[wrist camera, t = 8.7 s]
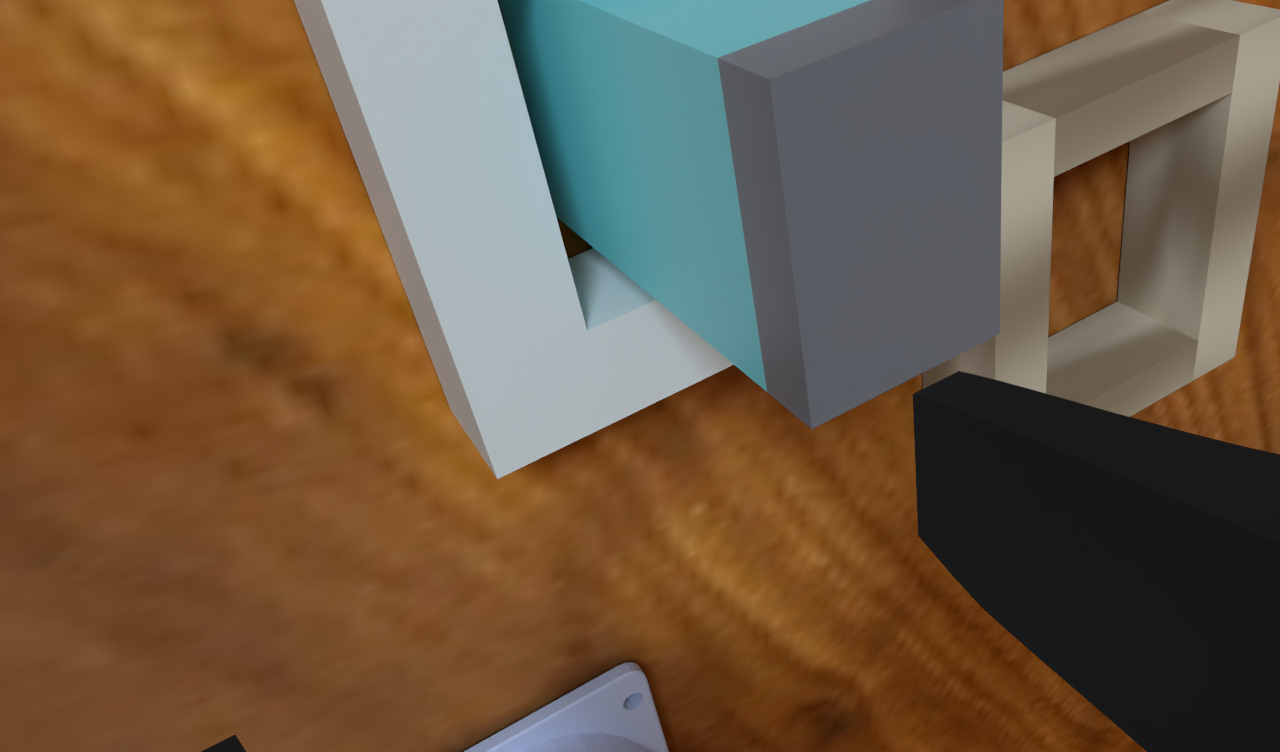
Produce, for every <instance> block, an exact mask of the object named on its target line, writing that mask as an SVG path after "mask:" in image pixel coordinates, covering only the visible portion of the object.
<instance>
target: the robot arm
mask: <svg viewBox="0 0 1280 752" xmlns="http://www.w3.org/2000/svg"><path fill="white" fill-rule="evenodd" d="M913 410H914V435H915V461H916V486H917V511H918V536H919V537H920V538H921V539H922V540H923V542H924V543H925V544H926V545H927V546H928V547H929V549H930V550H931V551H932V552H933V553H934V554H935V556H936V557H937V558H938V559H939V560H940V561H941V563H942V564H943V565H944V566H945V567H946V568H947V570H948V571H949V572H950V573H951V574H952V575H953V577H954V578H955V579H956V580H957V581H958V582H959V583H960V584H961V585H962V586H963V587H964V588H965V590H966V591H967V592H968V593H969V594H970V595H971V596H972V597H973V598H974V599H975V600H976V602H977V603H978V604H979V605H980V606H981V607H982V608H983V609H984V610H985V611H987V612H988V613H989V614H990V615H991V616H992V617H993V618H994V619H995V620H996V621H998V622H999V623H1000V624H1001V625H1002V626H1003V627H1004V628H1005V629H1007V630H1008V631H1009V632H1010V633H1011V634H1012V635H1013V636H1015V637H1016V638H1017V639H1018V640H1019V641H1020V642H1021V643H1023V644H1024V645H1025V646H1026V647H1027V648H1028V649H1029V650H1030V651H1032V652H1033V653H1034V654H1035V655H1036V656H1037V657H1038V658H1040V659H1041V660H1042V661H1043V662H1044V663H1045V664H1046V665H1048V666H1049V667H1050V668H1051V669H1052V670H1053V671H1055V672H1056V673H1057V674H1058V675H1059V676H1060V677H1062V678H1063V679H1064V680H1065V681H1066V682H1067V683H1068V684H1070V685H1071V686H1072V687H1073V688H1074V689H1075V690H1077V691H1078V692H1079V693H1080V694H1081V695H1082V696H1084V697H1085V698H1086V699H1087V700H1088V701H1089V702H1090V703H1092V704H1093V705H1094V706H1095V707H1096V708H1097V709H1099V710H1100V711H1101V712H1102V713H1103V714H1104V715H1106V716H1107V717H1108V718H1109V719H1110V720H1111V721H1112V722H1114V723H1115V724H1116V725H1117V726H1118V727H1119V728H1121V729H1122V730H1123V731H1124V732H1125V733H1126V734H1127V735H1129V736H1130V737H1131V738H1132V739H1133V740H1134V741H1136V742H1137V743H1138V744H1139V745H1140V746H1141V747H1143V748H1144V749H1145V750H1146V751H1147V752H1280V455H1279V454H1275V453H1270V452H1266V451H1261V450H1257V449H1252V448H1248V447H1243V446H1239V445H1235V444H1231V443H1227V442H1223V441H1219V440H1215V439H1211V438H1207V437H1203V436H1199V435H1195V434H1191V433H1187V432H1184V431H1180V430H1176V429H1172V428H1168V427H1165V426H1161V425H1157V424H1153V423H1150V422H1146V421H1142V420H1139V419H1135V418H1131V417H1128V416H1124V415H1121V414H1117V413H1113V412H1110V411H1106V410H1103V409H1099V408H1095V407H1092V406H1088V405H1085V404H1081V403H1078V402H1074V401H1071V400H1067V399H1064V398H1060V397H1057V396H1053V395H1049V394H1046V393H1042V392H1039V391H1035V390H1032V389H1028V388H1024V387H1021V386H1017V385H1013V384H1010V383H1006V382H1002V381H998V380H994V379H991V378H987V377H983V376H978V375H974V374H970V373H965V372H961V371H958V372H956V373H954V374H952V375H950V376H948V377H946V378H944V379H942V380H940V381H938V382H936V383H934V384H932V385H930V386H928V387H926V388H924V389H922V390H920V391H918V392H916V393H914V394H913ZM202 752H246V751H245V749H244V748H243V746H242V745H241V743H240V741H239V740H238V738H237V737H236V735H233V736H231V737H229V738H227V739H225V740H223V741H221V742H219V743H218V744H216V745H214V746H212V747H210V748H208V749H206V750H204V751H202ZM464 752H669V750H668V747H667V744H666V741H665V737H664V734H663V731H662V727H661V724H660V721H659V717H658V714H657V711H656V707H655V704H654V701H653V698H652V694H651V691H650V688H649V684H648V681H647V678H646V676H645V674H644V673H643V671H642V670H641V669H640V667H639V666H638V664H635V663H633V662H629V663H623V664H621V665H618V666H616V667H614V668H613V669H611V670H609V671H607V672H605V673H604V674H602V675H600V676H598V677H596V678H595V679H593V680H591V681H589V682H587V683H586V684H584V685H582V686H580V687H578V688H577V689H575V690H573V691H571V692H570V693H568V694H566V695H564V696H562V697H561V698H559V699H557V700H555V701H553V702H552V703H550V704H548V705H546V706H544V707H543V708H541V709H539V710H537V711H535V712H534V713H532V714H530V715H528V716H526V717H525V718H523V719H521V720H519V721H518V722H516V723H514V724H512V725H510V726H509V727H507V728H505V729H503V730H501V731H500V732H498V733H496V734H494V735H492V736H491V737H489V738H487V739H485V740H483V741H482V742H480V743H478V744H476V745H474V746H473V747H471V748H469V749H467V750H466V751H464Z"/></svg>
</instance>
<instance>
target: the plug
mask: <svg viewBox="0 0 1280 752" xmlns="http://www.w3.org/2000/svg"><path fill="white" fill-rule="evenodd" d="M499 2H500V6H501V10H502V14H503V18H504V22H505V25H506V29H507V33H508V37H509V41H510V44H511V48H512V52H513V56H514V60H515V63H516V67H517V71H518V75H519V79H520V82H521V86H522V90H523V94H524V98H525V101H526V105H527V109H528V113H529V117H530V121H531V124H532V128H533V132H534V136H535V140H536V143H537V147H538V151H539V155H540V159H541V162H542V166H543V170H544V173H545V177H546V181H547V184H548V188H549V192H550V195H551V199H552V203H553V206H554V210H555V214H556V217H557V218H558V219H560V220H561V221H562V222H563V223H564V224H566V225H567V226H568V227H569V228H570V229H572V230H573V231H574V232H575V233H576V234H578V235H579V236H580V237H581V238H582V239H584V240H585V241H586V242H587V243H588V244H590V245H591V246H592V247H593V248H594V249H596V250H597V251H598V252H599V253H600V254H602V255H603V256H604V257H605V258H606V259H608V260H609V261H610V262H611V263H612V264H614V265H615V266H616V267H617V268H618V269H620V270H621V271H622V272H623V273H624V274H626V275H627V276H628V277H629V278H630V279H632V280H633V281H634V282H635V283H636V284H638V285H639V286H640V287H641V288H642V289H644V290H645V291H646V292H647V293H648V294H650V295H651V296H652V297H653V298H654V299H656V300H657V301H658V302H659V303H661V304H662V305H663V306H664V307H665V308H667V309H668V310H669V311H670V312H671V313H673V314H674V315H675V316H676V317H677V318H679V319H680V320H681V321H682V322H683V323H685V324H686V325H687V326H688V327H689V328H691V329H692V330H693V331H694V332H695V333H697V334H698V335H699V336H700V337H701V338H703V339H704V340H705V341H706V342H707V343H709V344H710V345H711V346H712V347H713V348H715V349H716V350H717V351H718V352H719V353H721V354H722V355H723V356H724V357H725V358H727V359H728V360H729V361H730V362H731V363H733V364H734V365H735V366H736V367H737V368H739V369H740V370H741V371H742V372H743V373H745V374H746V375H747V376H748V377H749V378H751V379H752V380H753V381H754V382H755V383H757V384H758V385H759V386H760V387H761V388H763V389H764V390H765V391H766V392H768V393H769V394H770V395H771V396H772V397H774V398H775V399H776V400H777V401H778V402H780V403H781V404H782V405H783V406H784V407H786V408H787V409H788V410H789V411H790V412H792V413H793V414H794V415H795V416H796V417H798V418H799V419H800V420H801V421H802V422H804V423H805V424H806V425H807V426H808V427H810V428H811V429H813V428H815V427H817V426H819V425H821V424H823V423H825V422H827V421H829V420H831V419H833V418H835V417H837V416H839V415H841V414H843V413H845V412H847V411H849V410H851V409H853V408H855V407H857V406H859V405H861V404H862V403H864V402H866V401H868V400H870V399H872V398H874V397H876V396H878V395H880V394H882V393H884V392H886V391H888V390H890V389H892V388H894V387H896V386H898V385H900V384H902V383H904V382H906V381H908V380H910V379H912V378H914V377H916V376H917V375H919V374H921V373H923V372H925V371H927V370H929V369H931V368H933V367H935V366H937V365H939V364H941V363H943V362H945V361H947V360H949V359H951V358H953V357H955V356H957V355H959V354H961V353H963V352H965V351H967V350H969V349H971V348H972V347H974V346H976V345H978V344H980V343H982V342H984V341H986V340H988V339H990V338H992V337H994V336H996V335H998V334H1000V270H1001V179H1002V88H1003V0H499Z"/></svg>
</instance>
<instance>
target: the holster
mask: <svg viewBox="0 0 1280 752" xmlns="http://www.w3.org/2000/svg"><path fill="white" fill-rule="evenodd" d="M1279 82H1280V10H1278V9H1273V8H1268V7H1263V6H1258V5H1253V4H1247V3H1242V2H1237V1H1232V0H1170V1H1167V2H1165V3H1163V4H1160V5H1158V6H1156V7H1153V8H1151V9H1149V10H1146V11H1144V12H1142V13H1139V14H1137V15H1135V16H1132V17H1130V18H1128V19H1125V20H1123V21H1121V22H1118V23H1116V24H1114V25H1111V26H1109V27H1107V28H1104V29H1102V30H1100V31H1097V32H1095V33H1093V34H1090V35H1088V36H1086V37H1083V38H1081V39H1079V40H1076V41H1074V42H1072V43H1069V44H1067V45H1065V46H1062V47H1060V48H1058V49H1055V50H1053V51H1051V52H1048V53H1046V54H1044V55H1041V56H1039V57H1037V58H1034V59H1032V60H1030V61H1028V62H1025V63H1023V64H1021V65H1018V66H1016V67H1014V68H1011V69H1009V70H1007V71H1004V72H1003V88H1002V179H1001V270H1000V334H998V335H996V336H994V337H992V338H990V339H988V340H986V341H984V342H982V343H980V344H978V345H976V346H974V347H972V348H971V349H969V350H967V351H965V352H963V353H961V354H959V355H957V356H955V357H953V358H951V359H949V360H947V361H945V362H943V363H941V364H939V365H937V366H935V367H933V368H931V369H929V370H927V371H925V372H923V373H922V378H923V389H924V388H926V387H928V386H930V385H932V384H934V383H936V382H938V381H940V380H942V379H944V378H946V377H948V376H950V375H952V374H954V373H956V372H958V371H961V372H965V373H970V374H974V375H978V376H983V377H987V378H991V379H994V380H998V381H1002V382H1006V383H1010V384H1013V385H1017V386H1021V387H1024V388H1028V389H1032V390H1035V391H1039V392H1042V393H1046V394H1049V395H1053V396H1057V397H1060V398H1064V399H1067V400H1071V401H1074V402H1078V403H1081V404H1085V405H1088V406H1092V407H1095V408H1099V409H1103V410H1106V411H1110V412H1113V413H1117V414H1121V415H1124V416H1128V417H1130V416H1132V415H1134V414H1135V413H1137V412H1139V411H1141V410H1142V409H1144V408H1146V407H1148V406H1149V405H1151V404H1153V403H1155V402H1156V401H1158V400H1160V399H1162V398H1163V397H1165V396H1167V395H1169V394H1170V393H1172V392H1174V391H1176V390H1177V389H1179V388H1181V387H1183V386H1184V385H1186V384H1188V383H1190V382H1191V381H1193V380H1195V379H1197V378H1198V377H1200V376H1202V375H1204V374H1205V373H1207V372H1209V371H1211V370H1212V369H1214V368H1216V367H1218V366H1219V365H1221V364H1223V363H1225V362H1226V361H1228V360H1230V359H1232V358H1233V357H1235V352H1236V346H1237V340H1238V333H1239V327H1240V321H1241V315H1242V309H1243V303H1244V297H1245V291H1246V284H1247V278H1248V272H1249V266H1250V260H1251V254H1252V248H1253V242H1254V235H1255V229H1256V223H1257V217H1258V211H1259V205H1260V199H1261V192H1262V186H1263V180H1264V174H1265V168H1266V162H1267V156H1268V150H1269V143H1270V137H1271V131H1272V125H1273V119H1274V113H1275V107H1276V100H1277V94H1278V88H1279ZM1129 141H1130V149H1129V162H1128V174H1127V187H1126V199H1125V212H1124V224H1123V237H1122V249H1121V261H1120V274H1119V286H1118V299H1117V302H1115V303H1113V304H1111V305H1110V306H1108V307H1106V308H1104V309H1102V310H1100V311H1098V312H1096V313H1094V314H1092V315H1091V316H1089V317H1087V318H1085V319H1083V320H1081V321H1079V322H1077V323H1075V324H1074V325H1072V326H1070V327H1068V328H1066V329H1064V330H1062V331H1060V332H1058V333H1056V334H1055V335H1053V336H1051V337H1049V338H1048V324H1049V296H1050V268H1051V240H1052V212H1053V184H1054V177H1055V176H1057V175H1059V174H1061V173H1063V172H1065V171H1068V170H1070V169H1072V168H1074V167H1076V166H1078V165H1080V164H1082V163H1084V162H1087V161H1089V160H1091V159H1093V158H1095V157H1097V156H1099V155H1101V154H1103V153H1106V152H1108V151H1110V150H1112V149H1114V148H1116V147H1118V146H1120V145H1122V144H1125V143H1127V142H1129Z"/></svg>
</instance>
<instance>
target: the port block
mask: <svg viewBox="0 0 1280 752" xmlns="http://www.w3.org/2000/svg"><path fill="white" fill-rule="evenodd" d="M294 2H295V4H296V7H297V10H298V12H299V15H300V18H301V20H302V23H303V25H304V28H305V31H306V33H307V36H308V38H309V41H310V44H311V46H312V49H313V51H314V54H315V57H316V59H317V62H318V64H319V67H320V70H321V72H322V75H323V78H324V80H325V83H326V85H327V88H328V91H329V93H330V96H331V98H332V101H333V104H334V106H335V109H336V111H337V114H338V117H339V119H340V122H341V125H342V127H343V130H344V132H345V135H346V138H347V140H348V143H349V145H350V148H351V151H352V153H353V156H354V158H355V161H356V164H357V166H358V169H359V172H360V174H361V177H362V179H363V182H364V185H365V187H366V190H367V192H368V195H369V198H370V200H371V203H372V205H373V208H374V211H375V213H376V216H377V218H378V221H379V224H380V226H381V229H382V232H383V234H384V237H385V239H386V242H387V245H388V247H389V250H390V252H391V255H392V258H393V260H394V263H395V265H396V268H397V271H398V273H399V276H400V279H401V281H402V284H403V286H404V289H405V292H406V294H407V297H408V299H409V302H410V305H411V307H412V310H413V312H414V315H415V318H416V320H417V323H418V325H419V328H420V331H421V333H422V336H423V339H424V341H425V344H426V346H427V349H428V352H429V354H430V357H431V359H432V362H433V365H434V367H435V370H436V372H437V375H438V378H439V380H440V383H441V386H442V388H443V391H444V393H445V396H446V399H447V401H448V404H449V406H450V409H451V411H452V413H453V414H454V415H455V417H456V418H457V420H458V421H459V423H460V424H461V426H462V427H463V429H464V430H465V432H466V433H467V435H468V436H469V438H470V439H471V441H472V442H473V444H474V445H475V447H476V448H477V450H478V451H479V453H480V454H481V456H482V457H483V459H484V460H485V461H486V463H487V464H488V466H489V467H490V469H491V470H492V472H493V473H494V475H495V476H496V478H497V479H499V478H501V477H503V476H505V475H507V474H509V473H511V472H513V471H515V470H517V469H519V468H521V467H524V466H526V465H528V464H530V463H532V462H534V461H536V460H538V459H540V458H542V457H544V456H546V455H548V454H550V453H552V452H554V451H557V450H559V449H561V448H563V447H565V446H567V445H569V444H571V443H573V442H575V441H577V440H579V439H581V438H583V437H585V436H588V435H590V434H592V433H594V432H596V431H598V430H600V429H602V428H604V427H606V426H608V425H610V424H612V423H614V422H616V421H618V420H621V419H623V418H625V417H627V416H629V415H631V414H633V413H635V412H637V411H639V410H641V409H643V408H645V407H647V406H649V405H652V404H654V403H656V402H658V401H660V400H662V399H664V398H666V397H668V396H670V395H672V394H674V393H676V392H678V391H680V390H682V389H685V388H687V387H689V386H691V385H693V384H695V383H697V382H699V381H701V380H703V379H705V378H707V377H709V376H711V375H713V374H715V373H718V372H720V371H722V370H724V369H726V368H728V367H730V366H732V365H734V364H733V363H731V362H730V361H729V360H728V359H727V358H725V357H724V356H723V355H722V354H721V353H719V352H718V351H717V350H716V349H715V348H713V347H712V346H711V345H710V344H709V343H707V342H706V341H705V340H704V339H703V338H701V337H700V336H699V335H698V334H697V333H695V332H694V331H693V330H692V329H691V328H689V327H688V326H687V325H686V324H685V323H683V322H682V321H681V320H680V319H679V318H677V317H676V316H675V315H674V314H673V313H671V312H670V311H669V310H668V309H667V308H665V307H664V306H663V305H662V304H661V303H659V302H658V301H657V300H656V299H654V298H653V297H652V296H651V295H650V294H648V293H647V292H646V291H645V290H644V289H642V288H641V287H640V286H639V285H638V284H636V283H635V282H634V281H633V280H632V279H630V278H629V277H628V276H627V275H626V274H624V273H623V272H622V271H621V270H620V269H618V268H617V267H616V266H615V265H614V264H612V263H611V262H610V261H609V260H608V259H606V258H605V257H604V256H603V255H602V254H600V253H599V252H598V251H597V250H596V249H594V248H592V249H590V250H587V251H585V252H583V253H581V254H578V255H576V256H574V257H571V258H569V259H568V258H567V254H566V251H565V247H564V243H563V240H562V236H561V232H560V229H559V225H558V221H557V217H556V214H555V210H554V206H553V203H552V199H551V195H550V192H549V188H548V184H547V181H546V177H545V173H544V170H543V166H542V162H541V159H540V155H539V151H538V148H537V144H536V140H535V137H534V133H533V129H532V126H531V122H530V118H529V114H528V111H527V107H526V103H525V100H524V96H523V92H522V89H521V85H520V81H519V78H518V74H517V70H516V67H515V63H514V59H513V56H512V52H511V48H510V45H509V41H508V37H507V34H506V30H505V26H504V23H503V19H502V15H501V11H500V8H499V4H498V0H294Z"/></svg>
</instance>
